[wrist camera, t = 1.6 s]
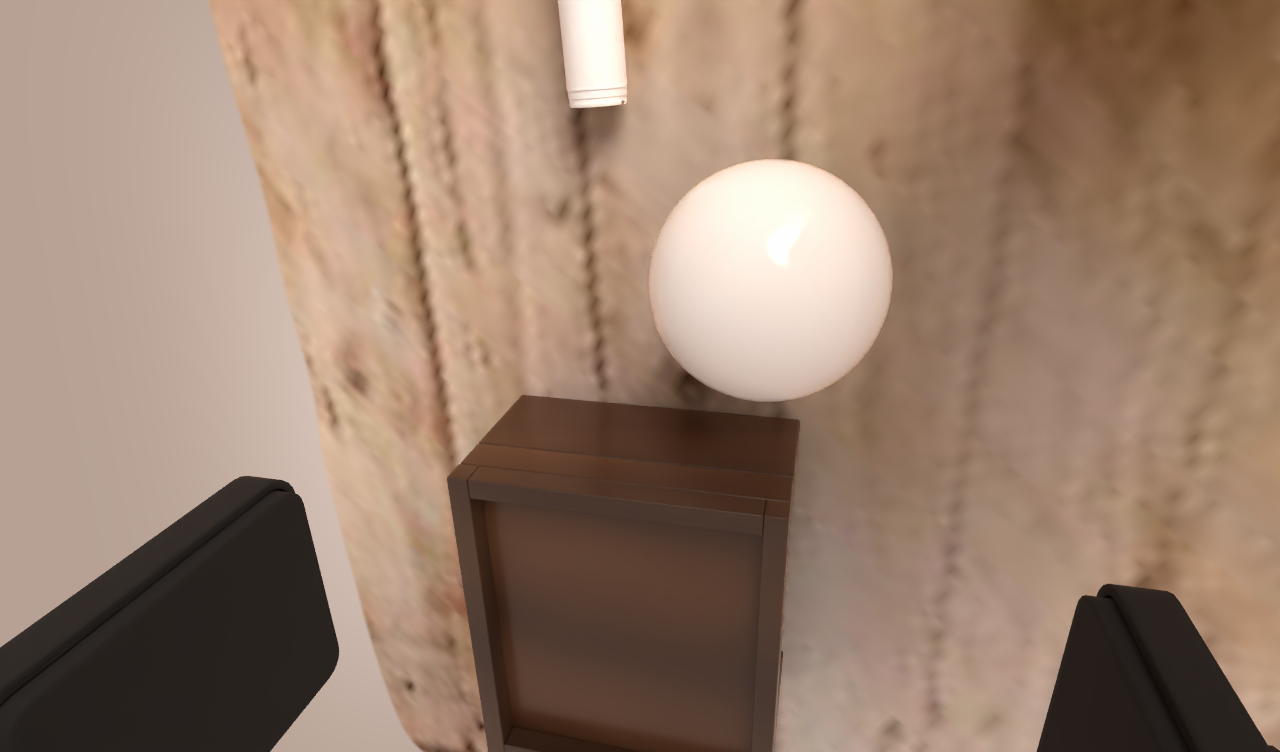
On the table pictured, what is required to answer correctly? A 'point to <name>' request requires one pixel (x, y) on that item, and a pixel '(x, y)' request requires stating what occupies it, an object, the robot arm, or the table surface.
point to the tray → (626, 576)
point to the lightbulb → (770, 280)
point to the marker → (593, 52)
